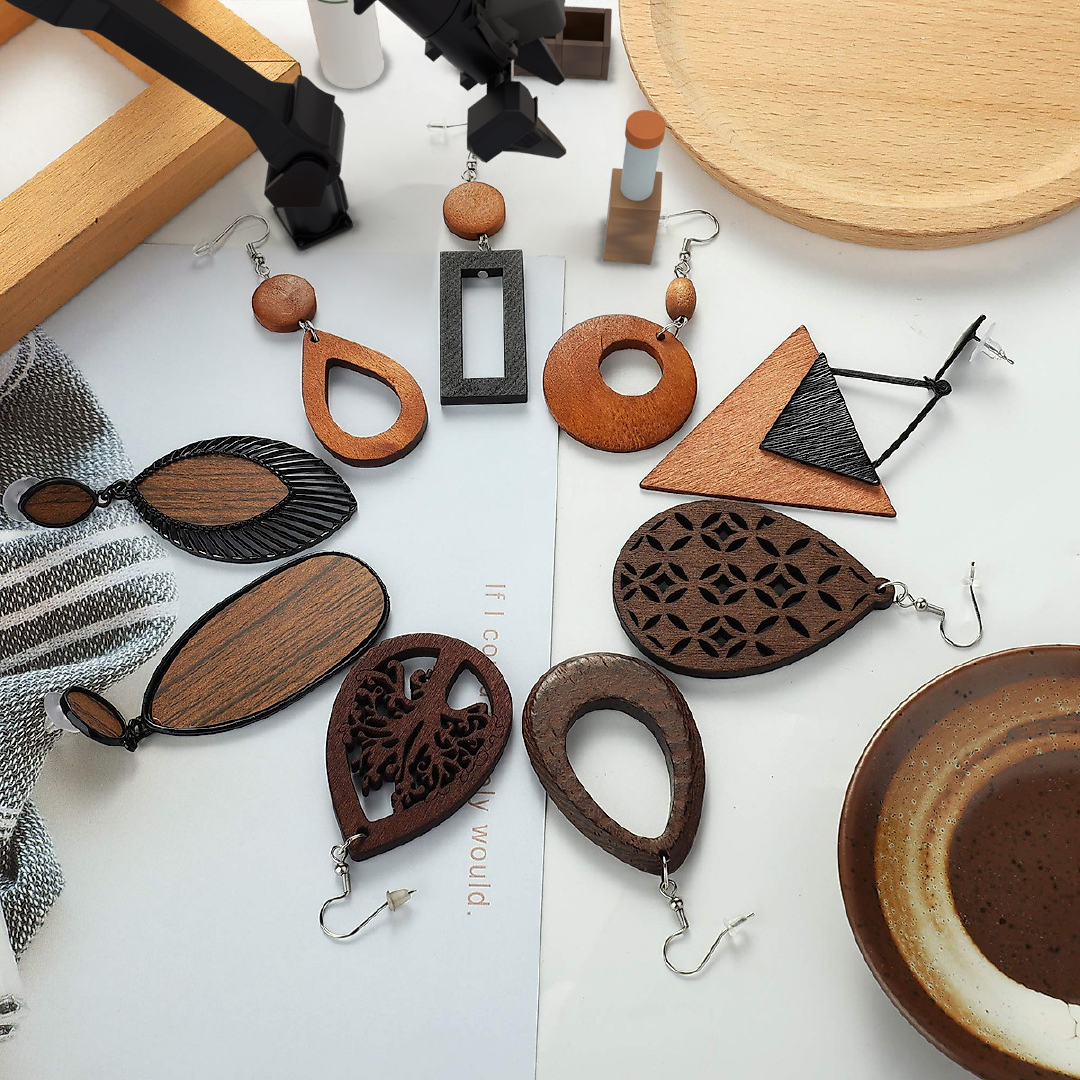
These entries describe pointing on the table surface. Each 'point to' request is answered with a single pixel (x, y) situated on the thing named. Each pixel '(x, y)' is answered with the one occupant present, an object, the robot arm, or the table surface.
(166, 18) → the robot arm
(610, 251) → the tube stand
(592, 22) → the box
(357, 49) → the cylindrical container
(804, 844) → the table surface
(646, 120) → the test tube
